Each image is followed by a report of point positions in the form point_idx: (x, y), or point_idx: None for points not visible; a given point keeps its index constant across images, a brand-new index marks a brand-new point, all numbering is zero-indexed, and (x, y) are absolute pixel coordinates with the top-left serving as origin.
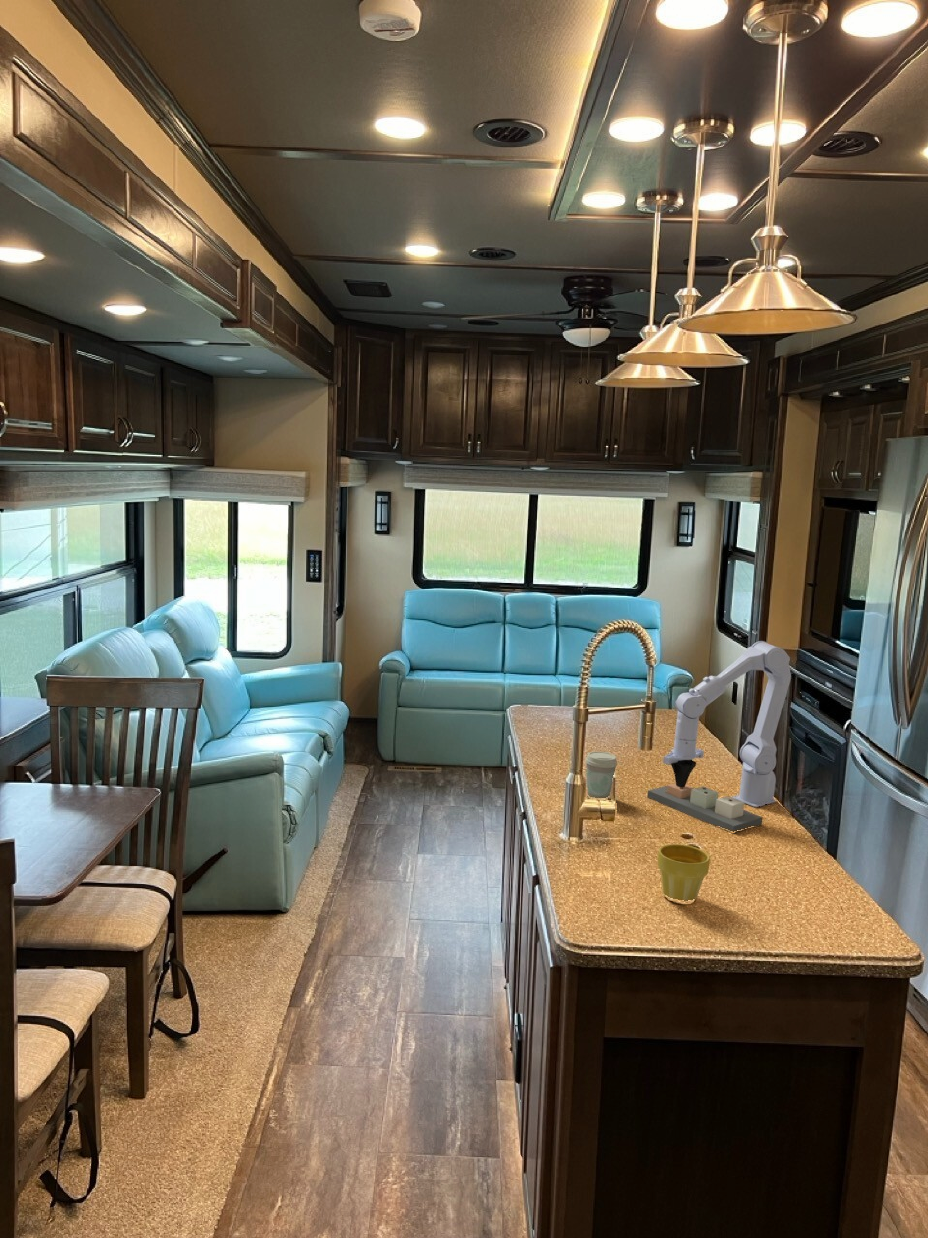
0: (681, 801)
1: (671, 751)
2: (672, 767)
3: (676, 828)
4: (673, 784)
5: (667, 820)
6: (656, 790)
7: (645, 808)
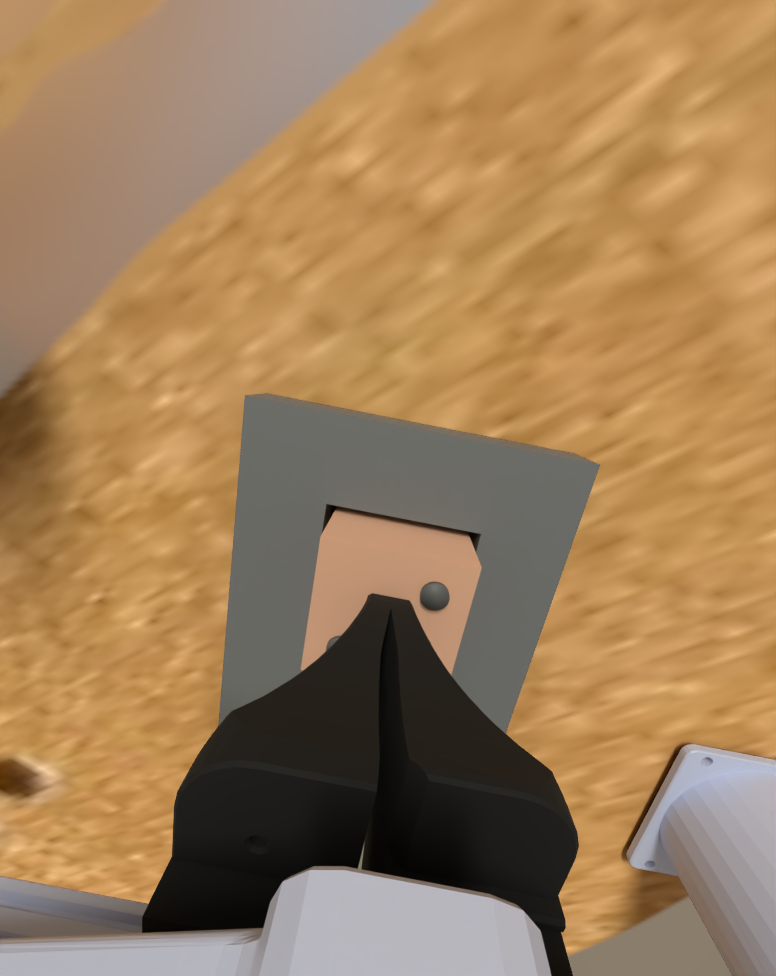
0: (265, 656)
1: (260, 963)
2: (287, 685)
3: (37, 719)
4: (380, 564)
5: (74, 652)
6: (304, 440)
7: (96, 490)
